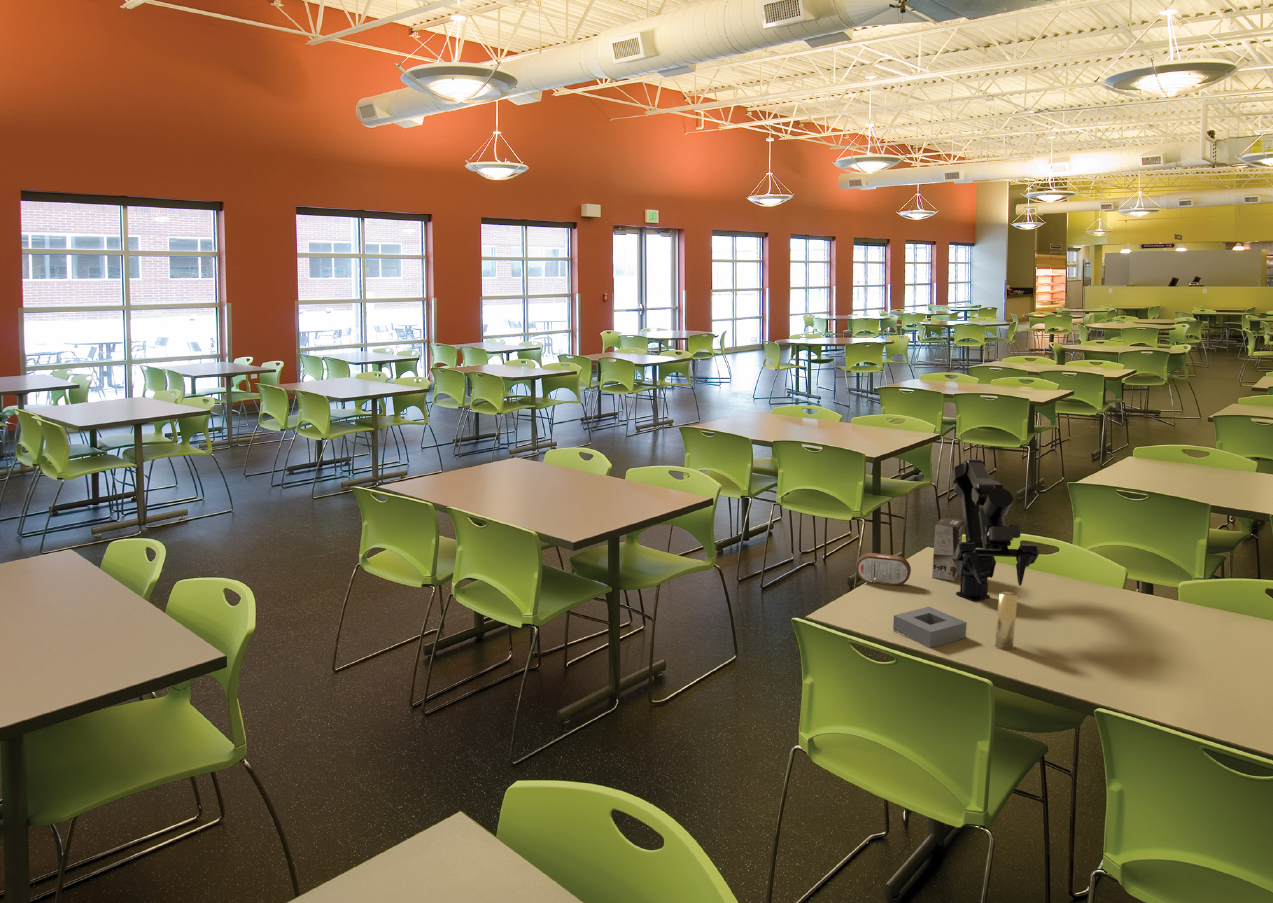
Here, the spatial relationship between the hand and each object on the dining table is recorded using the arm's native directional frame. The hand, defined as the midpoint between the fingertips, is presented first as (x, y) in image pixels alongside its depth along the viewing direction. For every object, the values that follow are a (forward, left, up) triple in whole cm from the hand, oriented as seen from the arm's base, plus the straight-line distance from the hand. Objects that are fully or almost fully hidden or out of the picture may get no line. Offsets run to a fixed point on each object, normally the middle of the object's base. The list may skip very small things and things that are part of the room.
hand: (1000, 584), depth 221 cm
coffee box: (-37, +23, -13) cm, 46 cm away
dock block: (-8, -14, -13) cm, 21 cm away
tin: (-41, +2, -13) cm, 43 cm away
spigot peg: (+6, -4, -13) cm, 15 cm away
